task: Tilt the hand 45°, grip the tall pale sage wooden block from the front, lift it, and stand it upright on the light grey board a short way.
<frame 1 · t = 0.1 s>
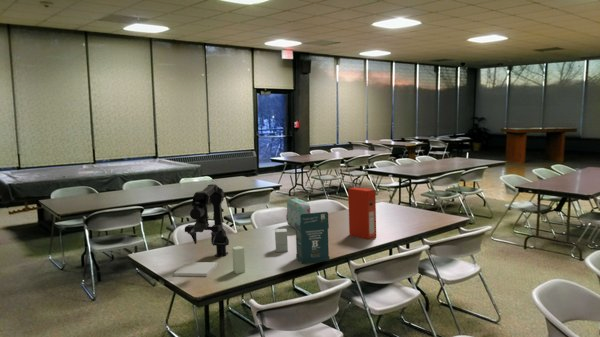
hand: (204, 244, 241), 15 cm above the table, tool pointing down, fingers open, 9 cm apart
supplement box: (281, 250, 275), on the table
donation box: (311, 258, 258), on the table
lunch box: (298, 227, 332), on the table
grey board: (196, 270, 243), on the table
file binder: (362, 236, 302), on the table
sage block: (239, 271, 239), on the table
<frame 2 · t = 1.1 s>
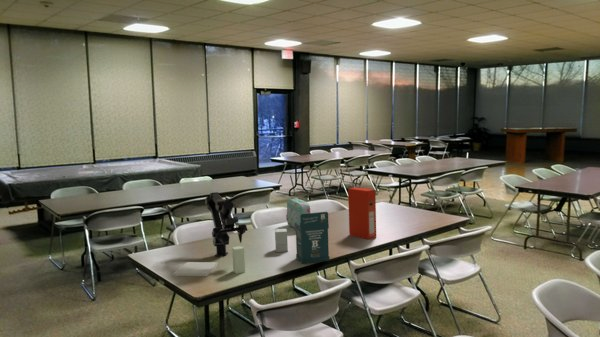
hand: (232, 243, 245), 13 cm above the table, tool tilted 45°, fingers open, 9 cm apart
nothing on the table moved.
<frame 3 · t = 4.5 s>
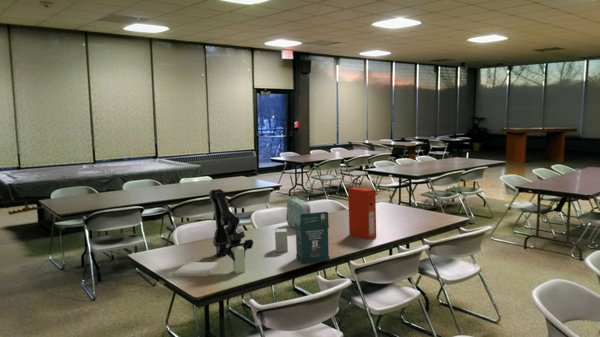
hand: (239, 260, 237), 7 cm above the table, tool tilted 45°, fingers closed on sage block, 5 cm apart
sage block: (239, 271, 239), on the table, touching gripper
everything else where it was.
when the fingers open (9 cm above the table, at t = 10.6 s): sage block drops 1 cm, resting on grey board.
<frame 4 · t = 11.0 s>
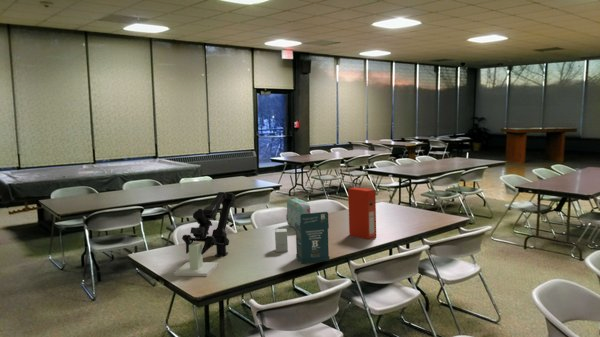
hand: (194, 253, 241), 10 cm above the table, tool tilted 45°, fingers open, 9 cm apart
sage block: (196, 267, 243), point 2 cm above the table, touching grey board
everything else where it was.
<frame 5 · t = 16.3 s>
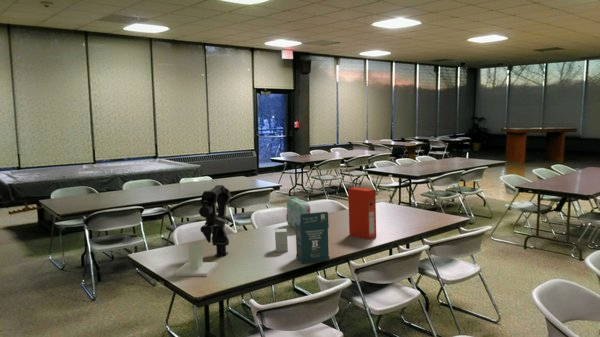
hand: (212, 240, 254), 13 cm above the table, tool pointing down, fingers open, 9 cm apart
nothing on the table moved.
at the end: sage block inside the target area on the grey board (0.1 cm from its centre), point 1.5 cm above the grey board's base; sage block tilted 0°; the gripper is holding nothing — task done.
